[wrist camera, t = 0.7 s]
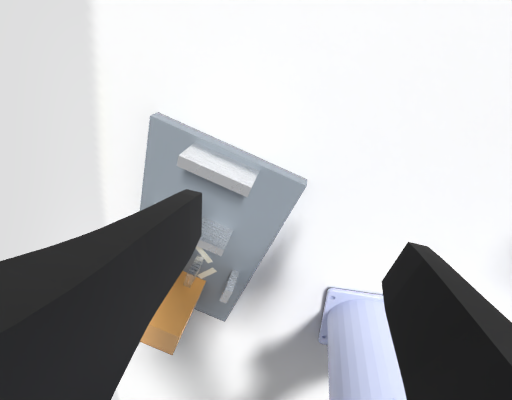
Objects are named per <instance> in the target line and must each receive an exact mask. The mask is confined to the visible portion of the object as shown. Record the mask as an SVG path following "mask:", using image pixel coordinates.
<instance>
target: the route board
mask: <svg viewBox="0 0 512 400" xmlns="http://www.w3.org/2000/svg"><path fill="white" fill-rule="evenodd" d="M195 142H196V143H198V144H201V145H203V146H205V147H207V148H209V149H212V150H214V151H216V152H218V153H221V154H223V155H225V156H227V157H229V158H232V159H234V160H236V161H238V162H241V163H243V164H245V165H247V166H249V167H252V168H254V169H256V170H258V171H259V173H258V175H257V177H256V180H255V182H254V184H253V186H252V188H251V190H250V193H249V195H248V197H245V196H243V195H241V194H239V193H236V192H234V191H232V190H230V189H227V188H225V187H223V186H221V185H218V184H216V183H214V182H212V181H209V180H207V179H205V178H203V177H200V176H198V175H196V174H194V173H191V172H189V171H187V170H185V169H182V168H180V167H178V166H177V161H178V156H179V155H180V154H181V153H182V152H183V151H185V150H186V149H187V148H188V147H190V146H191V145H192V144H193V143H195ZM306 186H307V179H305V178H303V177H300V176H298V175H296V174H294V173H291V172H289V171H287V170H285V169H283V168H280V167H278V166H276V165H274V164H272V163H269V162H267V161H265V160H263V159H260V158H258V157H256V156H254V155H252V154H249V153H247V152H245V151H243V150H240V149H238V148H236V147H234V146H232V145H229V144H227V143H225V142H223V141H221V140H218V139H216V138H214V137H212V136H209V135H207V134H205V133H203V132H201V131H198V130H196V129H194V128H192V127H190V126H187V125H185V124H183V123H181V122H178V121H176V120H174V119H172V118H170V117H167V116H165V115H163V114H161V113H159V112H158V113H155V114H153V115H151V116H150V123H149V132H148V141H147V150H146V160H145V169H144V178H143V187H142V197H141V206H140V211H141V210H143V209H145V208H147V207H149V206H152V205H153V204H154V203H158V202H160V201H162V200H164V199H166V198H168V197H170V196H172V195H174V194H176V193H178V192H181V191H183V190H185V189H189V190H193V191H197V192H201V193H202V217H205V218H207V219H209V220H211V221H214V222H216V223H218V224H220V225H223V226H225V227H227V228H230V229H232V230H233V232H232V234H231V236H230V239H229V241H228V243H227V245H226V247H225V250H224V252H223V254H222V256H219V255H216V254H214V253H212V252H210V251H207V250H205V249H203V248H200V247H198V246H196V248H195V250H194V252H193V254H192V256H191V258H190V260H189V261H188V263H187V265H186V266H185V268H184V269H183V271H184V272H188V271H189V269H190V267H191V265H192V264H193V262H194V260H195V258H196V257H197V255H198V254H199V255H201V256H202V257H204V260H203V263H202V265H201V268H200V270H199V272H198V274H197V276H196V277H198V278H200V279H203V280H205V281H206V283H205V285H204V287H203V290H202V292H201V294H200V297H199V299H198V301H197V304H196V306H195V308H194V309H196V310H199V311H201V312H203V313H206V314H208V315H210V316H213V317H215V318H217V319H220V320H222V321H224V322H225V320H226V319H227V317H228V315H229V314H230V312H231V310H232V309H233V307H234V306H235V304H236V302H237V301H238V299H239V297H240V296H241V294H242V292H243V291H244V289H245V287H246V286H247V284H248V282H249V281H250V279H251V277H252V276H253V274H254V272H255V271H256V269H257V267H258V266H259V264H260V262H261V261H262V259H263V257H264V256H265V254H266V252H267V251H268V249H269V247H270V246H271V244H272V242H273V241H274V239H275V237H276V236H277V234H278V232H279V231H280V229H281V227H282V226H283V224H284V222H285V221H286V219H287V218H288V216H289V214H290V213H291V211H292V209H293V208H294V206H295V204H296V203H297V201H298V199H299V198H300V196H301V194H302V193H303V191H304V189H305V188H306ZM233 269H234V270H236V271H238V272H239V275H238V278H237V280H236V283H235V286H234V289H233V292H232V294H231V296H230V298H229V299H228V301H227V303H223V302H221V301H219V300H220V298H221V295H222V292H223V290H224V287H225V285H226V282H227V280H228V278H229V276H230V274H231V272H232V270H233Z"/></svg>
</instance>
